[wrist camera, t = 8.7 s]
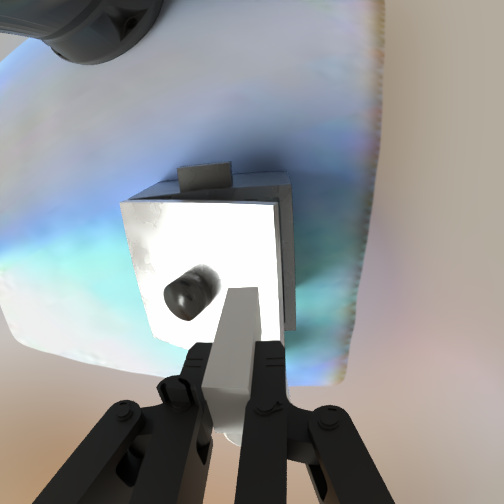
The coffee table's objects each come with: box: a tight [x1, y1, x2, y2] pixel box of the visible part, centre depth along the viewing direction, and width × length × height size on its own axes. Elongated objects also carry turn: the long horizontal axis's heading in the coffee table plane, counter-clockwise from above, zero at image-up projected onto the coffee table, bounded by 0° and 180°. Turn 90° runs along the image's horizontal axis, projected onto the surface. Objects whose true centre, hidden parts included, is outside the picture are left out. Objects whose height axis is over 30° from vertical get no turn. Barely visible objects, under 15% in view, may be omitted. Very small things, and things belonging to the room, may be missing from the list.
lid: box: [120, 200, 285, 350], centre depth 23 cm, size 14×14×3 cm
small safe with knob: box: [127, 161, 296, 331], centre depth 31 cm, size 18×14×8 cm
